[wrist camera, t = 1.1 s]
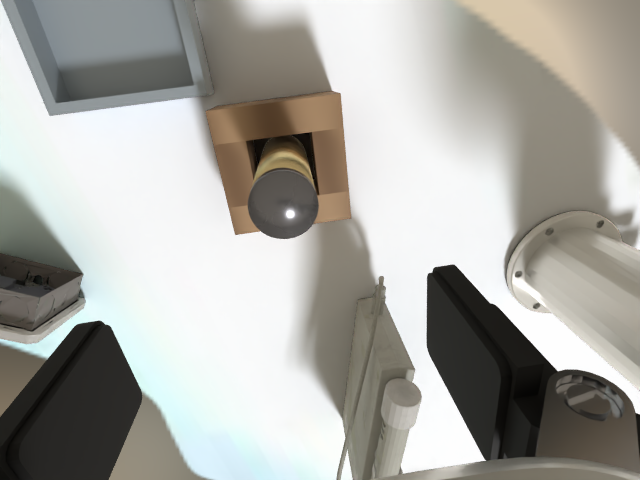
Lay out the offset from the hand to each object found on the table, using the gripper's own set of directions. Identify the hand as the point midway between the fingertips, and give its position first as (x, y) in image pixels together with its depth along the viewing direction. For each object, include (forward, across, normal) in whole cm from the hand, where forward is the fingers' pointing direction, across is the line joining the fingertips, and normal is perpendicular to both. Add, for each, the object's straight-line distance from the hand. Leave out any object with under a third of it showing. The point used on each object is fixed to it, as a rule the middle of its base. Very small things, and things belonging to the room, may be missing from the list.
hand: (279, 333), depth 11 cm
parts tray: (+25, +11, -12) cm, 30 cm away
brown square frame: (+25, 0, 0) cm, 25 cm away
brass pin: (+25, 0, 0) cm, 25 cm away
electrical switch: (+25, +26, +8) cm, 37 cm away
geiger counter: (+25, -6, +24) cm, 35 cm away
